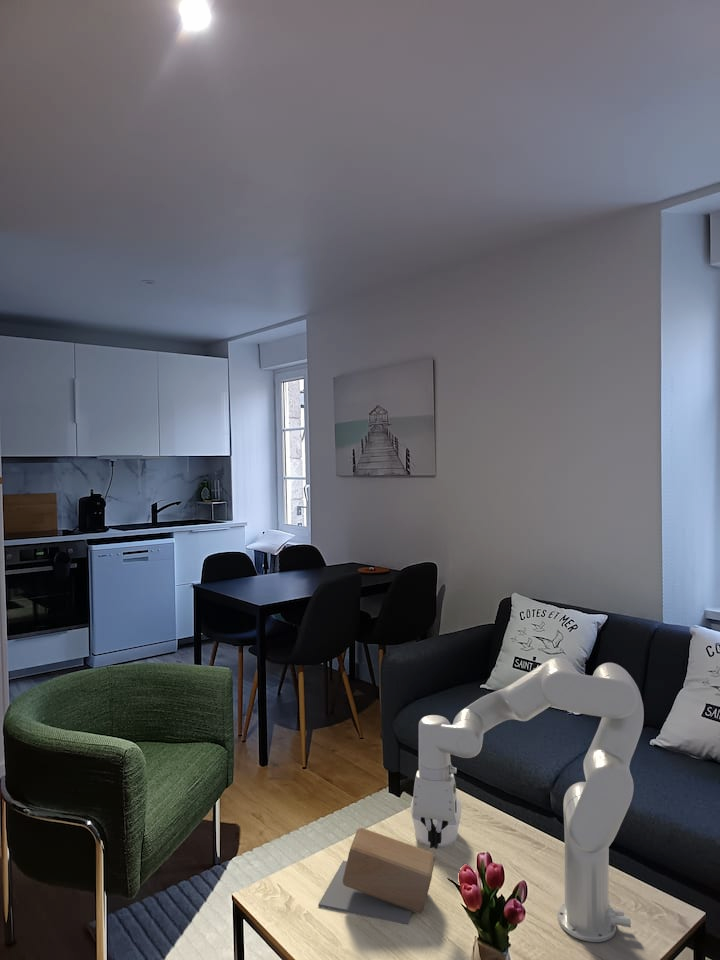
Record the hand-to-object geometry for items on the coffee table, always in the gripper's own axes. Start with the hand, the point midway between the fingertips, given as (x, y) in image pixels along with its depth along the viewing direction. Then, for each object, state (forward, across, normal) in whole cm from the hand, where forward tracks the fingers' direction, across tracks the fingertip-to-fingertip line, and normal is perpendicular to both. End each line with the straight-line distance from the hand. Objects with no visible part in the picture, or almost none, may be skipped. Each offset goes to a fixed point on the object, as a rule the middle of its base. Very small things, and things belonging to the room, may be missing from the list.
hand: (434, 844), depth 161 cm
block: (+9, +1, 0) cm, 9 cm away
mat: (+14, +16, 0) cm, 21 cm away
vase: (+15, +5, -29) cm, 33 cm away
